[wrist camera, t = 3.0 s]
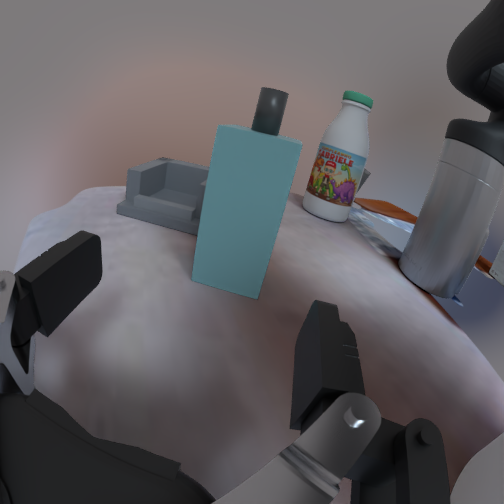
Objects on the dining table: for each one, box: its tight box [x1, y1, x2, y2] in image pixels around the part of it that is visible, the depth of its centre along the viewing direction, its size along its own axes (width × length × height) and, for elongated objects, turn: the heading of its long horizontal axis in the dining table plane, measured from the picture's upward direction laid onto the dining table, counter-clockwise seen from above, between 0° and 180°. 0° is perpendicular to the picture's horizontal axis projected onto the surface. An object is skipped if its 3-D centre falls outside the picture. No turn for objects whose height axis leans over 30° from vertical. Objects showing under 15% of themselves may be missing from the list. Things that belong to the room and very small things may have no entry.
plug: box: [191, 87, 302, 299], centre depth 19 cm, size 5×5×14 cm
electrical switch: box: [357, 169, 370, 192], centre depth 54 cm, size 9×5×9 cm, turn 150°
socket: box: [117, 158, 209, 236], centre depth 30 cm, size 10×10×4 cm
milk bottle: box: [303, 91, 373, 222], centre depth 39 cm, size 8×8×20 cm
